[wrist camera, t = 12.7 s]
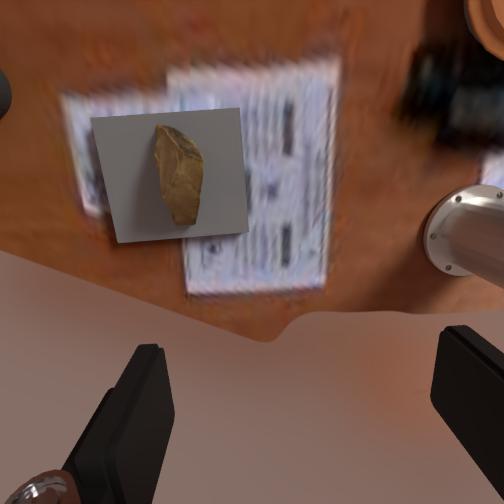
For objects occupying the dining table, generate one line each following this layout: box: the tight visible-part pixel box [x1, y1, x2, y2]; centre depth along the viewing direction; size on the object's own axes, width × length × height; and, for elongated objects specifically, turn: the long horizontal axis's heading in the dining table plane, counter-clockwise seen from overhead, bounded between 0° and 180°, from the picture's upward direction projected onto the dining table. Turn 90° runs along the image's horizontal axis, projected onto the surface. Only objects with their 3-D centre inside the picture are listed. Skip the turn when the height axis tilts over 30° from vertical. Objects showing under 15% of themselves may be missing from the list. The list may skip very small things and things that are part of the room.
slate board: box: [90, 108, 249, 243], centre depth 36 cm, size 16×14×2 cm
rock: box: [153, 123, 204, 226], centre depth 32 cm, size 11×9×10 cm
